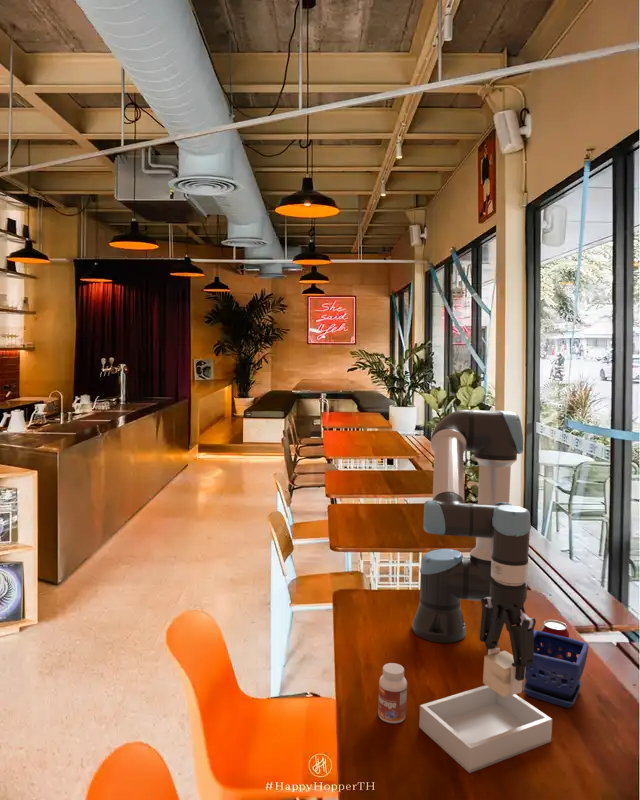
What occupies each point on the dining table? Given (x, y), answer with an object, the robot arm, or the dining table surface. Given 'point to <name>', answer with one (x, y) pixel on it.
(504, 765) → the dining table surface
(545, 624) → the soda can
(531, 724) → the tote
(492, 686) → the beech cube
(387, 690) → the pill bottle
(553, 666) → the flower pot
